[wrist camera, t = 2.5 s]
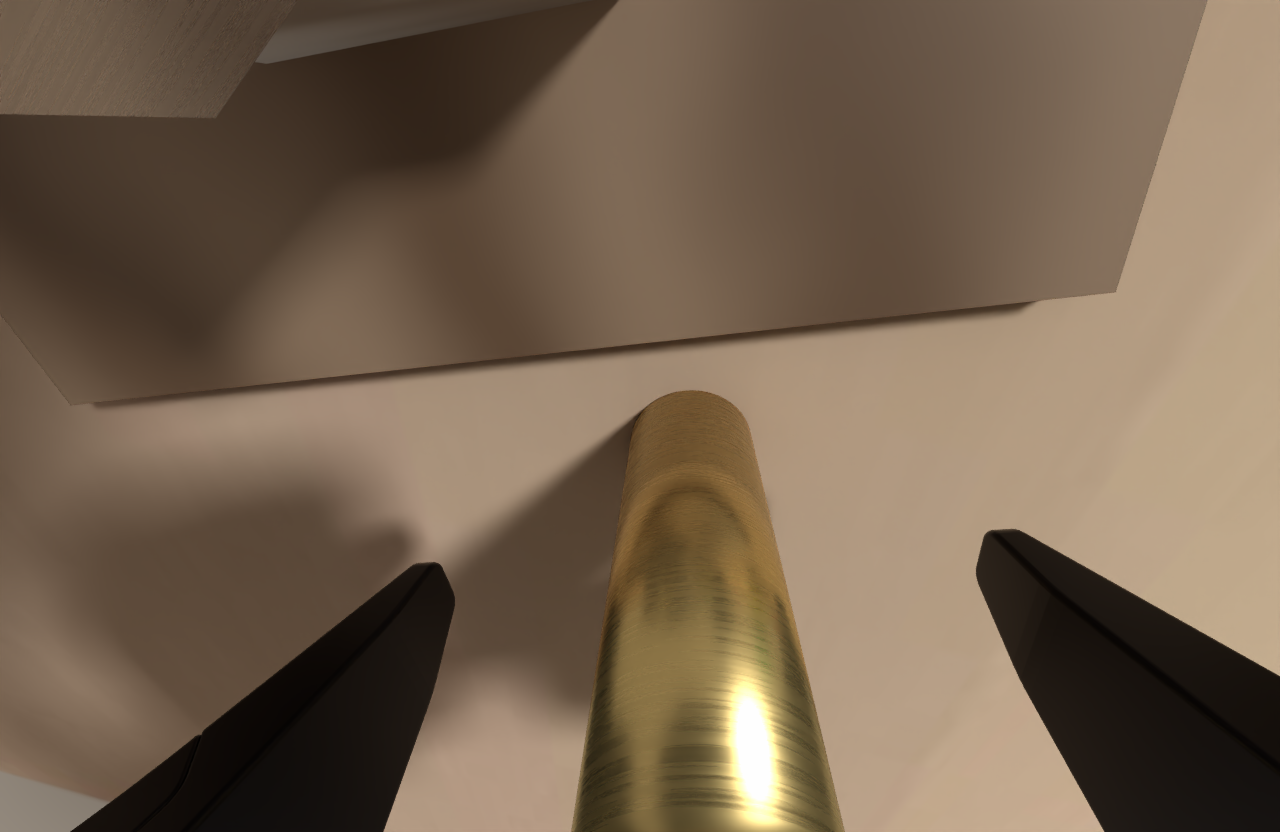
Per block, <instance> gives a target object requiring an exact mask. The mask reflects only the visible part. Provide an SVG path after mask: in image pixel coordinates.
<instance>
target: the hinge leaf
mask: <svg viewBox="0 0 1280 832" xmlns="http://www.w3.org/2000/svg"><path fill="white" fill-rule="evenodd" d="M296 2H297V0H0V114H25V115H79V116H134V117H189V118H216V117H217V115H218V114H219V113H220V111H221V110H222V108H223V107H224V105H225V104H226V102H227V101H228V100H229V98H230V97H231V95H232V94H233V92H234V91H235V90H236V88H237V87H238V85H239V84H240V82H241V81H242V79H243V78H244V77H245V75H246V74H247V72H248V71H249V69H250V68H251V67H252V65H253V64H254V62H255V61H256V59H257V58H258V57H259V55H260V54H261V52H262V51H263V49H264V48H265V46H266V45H267V44H268V42H269V41H270V39H271V38H272V36H273V35H274V34H275V32H276V31H277V29H278V28H279V26H280V25H281V23H282V22H283V21H284V19H285V18H286V16H287V15H288V13H289V12H290V11H291V9H292V8H293V6H294V5H295V3H296Z"/></svg>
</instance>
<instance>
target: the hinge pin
mask: <svg viewBox="0 0 1280 832" xmlns="http://www.w3.org/2000/svg"><path fill="white" fill-rule="evenodd" d="M571 832H845V831H844V827H843V823H842V818H841V814H840V810H839V806H838V801H837V797H836V793H835V789H834V784H833V780H832V776H831V772H830V767H829V763H828V759H827V755H826V751H825V746H824V742H823V738H822V734H821V729H820V725H819V721H818V717H817V712H816V708H815V704H814V700H813V695H812V691H811V687H810V683H809V679H808V674H807V670H806V666H805V662H804V657H803V653H802V649H801V645H800V640H799V636H798V632H797V628H796V623H795V619H794V615H793V611H792V607H791V602H790V598H789V594H788V590H787V585H786V581H785V577H784V573H783V568H782V564H781V560H780V556H779V551H778V547H777V543H776V539H775V535H774V530H773V526H772V522H771V518H770V513H769V509H768V505H767V501H766V496H765V492H764V488H763V484H762V480H761V475H760V471H759V467H758V463H757V458H756V454H755V450H754V446H753V441H752V437H751V433H750V429H749V426H748V424H747V421H746V419H745V418H744V416H743V415H742V413H741V412H740V411H739V410H738V409H737V408H736V407H735V406H734V405H733V404H732V403H730V402H729V401H727V400H726V399H724V398H722V397H720V396H718V395H715V394H712V393H708V392H703V391H694V390H691V391H680V392H675V393H671V394H668V395H666V396H663V397H661V398H659V399H657V400H656V401H654V402H653V403H651V404H650V405H649V406H648V407H647V408H646V409H644V410H643V412H642V413H641V414H640V416H639V417H638V419H637V420H636V422H635V425H634V427H633V430H632V435H631V442H630V448H629V455H628V461H627V468H626V474H625V481H624V488H623V494H622V501H621V507H620V514H619V521H618V527H617V534H616V540H615V547H614V553H613V560H612V567H611V573H610V580H609V586H608V593H607V600H606V606H605V613H604V619H603V626H602V633H601V639H600V646H599V652H598V659H597V665H596V672H595V679H594V685H593V692H592V698H591V705H590V712H589V718H588V725H587V731H586V738H585V744H584V751H583V758H582V764H581V771H580V777H579V784H578V791H577V797H576V804H575V810H574V817H573V824H572V830H571Z"/></svg>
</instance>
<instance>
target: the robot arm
mask: <svg viewBox="0 0 1280 832" xmlns="http://www.w3.org/2000/svg"><path fill="white" fill-rule="evenodd" d="M976 577H977V581H978V584H979V587H980V589H981V591H982V594H983V596H984V598H985V601H986V603H987V605H988V608H989V610H990V612H991V615H992V617H993V619H994V622H995V624H996V626H997V628H998V631H999V633H1000V635H1001V638H1002V640H1003V642H1004V645H1005V647H1006V649H1007V652H1008V654H1009V656H1010V659H1011V661H1012V663H1013V666H1014V668H1015V670H1016V672H1017V674H1018V676H1019V679H1020V681H1021V682H1022V684H1023V686H1024V688H1025V690H1026V692H1027V694H1028V696H1029V698H1030V699H1031V701H1032V703H1033V705H1034V706H1035V708H1036V710H1037V712H1038V714H1039V715H1040V717H1041V719H1042V721H1043V723H1044V724H1045V726H1046V728H1047V730H1048V732H1049V733H1050V735H1051V737H1052V739H1053V741H1054V742H1055V744H1056V746H1057V748H1058V749H1059V751H1060V753H1061V755H1062V757H1063V758H1064V760H1065V762H1066V764H1067V766H1068V767H1069V769H1070V771H1071V773H1072V775H1073V776H1074V778H1075V780H1076V782H1077V784H1078V785H1079V787H1080V789H1081V791H1082V792H1083V794H1084V796H1085V798H1086V800H1087V801H1088V803H1089V805H1090V807H1091V809H1092V810H1093V812H1094V814H1095V816H1096V818H1097V819H1098V821H1099V823H1100V825H1101V827H1102V828H1103V830H1104V832H1280V676H1279V675H1277V674H1275V673H1273V672H1272V671H1270V670H1268V669H1266V668H1264V667H1263V666H1261V665H1259V664H1257V663H1255V662H1254V661H1252V660H1250V659H1248V658H1247V657H1245V656H1243V655H1241V654H1239V653H1238V652H1236V651H1234V650H1232V649H1231V648H1229V647H1227V646H1225V645H1223V644H1222V643H1220V642H1218V641H1216V640H1215V639H1213V638H1211V637H1209V636H1207V635H1206V634H1204V633H1202V632H1200V631H1199V630H1197V629H1195V628H1193V627H1191V626H1190V625H1188V624H1186V623H1184V622H1183V621H1181V620H1179V619H1177V618H1175V617H1174V616H1172V615H1170V614H1168V613H1166V612H1165V611H1163V610H1161V609H1159V608H1158V607H1156V606H1154V605H1152V604H1150V603H1149V602H1147V601H1145V600H1143V599H1142V598H1140V597H1138V596H1136V595H1134V594H1133V593H1131V592H1129V591H1127V590H1126V589H1124V588H1122V587H1120V586H1118V585H1117V584H1115V583H1113V582H1111V581H1109V580H1108V579H1106V578H1104V577H1102V576H1101V575H1099V574H1097V573H1095V572H1093V571H1092V570H1090V569H1088V568H1086V567H1085V566H1083V565H1081V564H1079V563H1077V562H1076V561H1074V560H1072V559H1070V558H1069V557H1067V556H1065V555H1063V554H1061V553H1060V552H1058V551H1056V550H1054V549H1053V548H1051V547H1049V546H1047V545H1045V544H1044V543H1042V542H1040V541H1038V540H1036V539H1035V538H1033V537H1031V536H1029V535H1028V534H1026V533H1024V532H1022V531H1020V530H1017V529H1003V530H991V531H988V532H987V533H986V534H985V535H984V538H983V542H982V546H981V550H980V554H979V558H978V562H977V566H976ZM454 607H455V596H454V592H453V590H452V588H451V586H450V584H449V581H448V579H447V577H446V575H445V572H444V570H443V568H442V566H441V565H440V564H439V563H436V562H426V563H417V564H414V565H412V566H411V567H409V568H408V569H407V570H406V571H404V572H403V573H402V574H401V575H399V576H398V577H397V578H396V579H394V580H393V581H392V582H390V583H389V584H388V585H387V586H385V587H384V588H383V589H382V590H380V591H379V592H378V593H377V594H375V595H374V596H373V597H371V598H370V599H369V600H368V601H366V602H365V603H364V604H363V605H361V606H360V607H359V608H358V609H356V610H355V611H354V612H353V613H351V614H350V615H349V616H347V617H346V618H345V619H344V620H342V621H341V622H340V623H339V624H337V625H336V626H335V627H334V628H332V629H331V630H330V631H329V632H327V633H326V634H325V635H323V636H322V637H321V638H320V639H318V640H317V641H316V642H315V643H313V644H312V645H311V646H310V647H308V648H307V649H306V650H304V651H303V652H302V653H301V654H299V655H298V656H297V657H296V658H294V659H293V660H292V661H291V662H289V663H288V664H287V665H285V666H284V667H283V668H282V669H280V670H279V671H278V672H277V673H275V674H274V675H273V676H272V677H270V678H269V679H268V680H267V681H265V682H264V683H263V684H261V685H260V686H259V687H258V688H256V689H255V690H254V691H253V692H251V693H250V694H249V695H248V696H246V697H245V698H244V699H242V700H241V701H240V702H239V703H237V704H236V705H235V706H234V707H232V708H231V709H230V710H229V711H227V712H226V713H225V714H223V715H222V716H221V717H220V718H218V719H217V720H216V721H215V722H213V723H212V724H211V725H210V726H208V727H207V728H206V729H205V730H204V731H203V732H202V735H197V736H195V737H194V738H193V739H192V740H190V741H189V742H188V743H187V744H185V745H184V746H183V747H182V748H180V749H179V750H178V751H177V752H175V753H174V754H173V755H172V756H170V757H169V758H168V759H166V760H165V761H164V762H162V763H161V764H160V765H159V766H157V767H156V768H155V769H153V770H152V771H151V772H150V773H148V774H147V775H146V776H144V777H143V778H142V779H140V780H139V781H138V782H137V783H135V784H134V785H133V786H131V787H130V788H129V789H127V790H126V791H125V792H124V793H122V794H121V795H120V796H118V797H117V798H115V799H114V800H113V801H111V802H110V803H109V804H107V805H106V806H105V807H103V808H102V809H101V810H99V811H98V812H97V813H95V814H94V815H92V816H91V817H90V818H88V819H87V820H86V821H84V822H83V823H82V824H80V825H79V826H77V827H76V828H75V829H73V830H72V831H71V832H384V829H385V826H386V823H387V820H388V818H389V815H390V812H391V809H392V806H393V804H394V801H395V798H396V795H397V792H398V790H399V787H400V784H401V781H402V778H403V776H404V773H405V770H406V767H407V764H408V762H409V759H410V756H411V753H412V750H413V748H414V745H415V742H416V739H417V736H418V734H419V731H420V728H421V725H422V722H423V720H424V717H425V714H426V711H427V708H428V705H429V702H430V699H431V696H432V693H433V690H434V686H435V683H436V679H437V675H438V671H439V667H440V663H441V659H442V655H443V651H444V647H445V643H446V639H447V635H448V631H449V627H450V623H451V619H452V615H453V611H454Z"/></svg>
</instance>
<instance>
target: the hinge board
mask: <svg viewBox="0 0 1280 832" xmlns="http://www.w3.org/2000/svg"><path fill="white" fill-rule="evenodd" d="M1206 3H1207V0H297V2H296V3H295V5H294V6H293V8H292V9H291V11H290V12H289V13H288V15H287V16H286V18H285V19H284V21H283V22H282V23H281V25H280V26H279V28H278V29H277V31H276V32H275V34H274V35H273V36H272V38H271V39H270V41H269V42H268V44H267V45H266V46H265V48H264V49H263V51H262V52H261V54H260V55H259V57H258V58H257V59H256V61H255V62H254V64H253V65H252V67H251V68H250V69H249V71H248V72H247V74H246V75H245V77H244V78H243V79H242V81H241V82H240V84H239V85H238V87H237V88H236V90H235V91H234V92H233V94H232V95H231V97H230V98H229V100H228V101H227V102H226V104H225V105H224V107H223V108H222V110H221V111H220V113H219V114H218V115H217V117H216V118H189V117H134V116H79V115H25V114H0V314H1V316H2V317H3V318H4V319H5V321H6V322H7V323H8V325H9V326H10V327H11V329H12V330H13V331H14V332H15V334H16V335H17V336H18V338H19V339H20V340H21V342H22V343H23V344H24V345H25V347H26V348H27V349H28V351H29V352H30V353H31V355H32V356H33V357H34V358H35V360H36V361H37V362H38V364H39V365H40V366H41V367H42V369H43V370H44V371H45V373H46V374H47V375H48V377H49V378H50V379H51V380H52V382H53V383H54V384H55V386H56V387H57V388H58V390H59V391H60V392H61V393H62V395H63V396H64V397H65V399H66V400H67V401H68V403H69V404H70V405H77V404H86V403H96V402H105V401H114V400H123V399H133V398H142V397H151V396H160V395H170V394H179V393H188V392H197V391H207V390H216V389H225V388H234V387H244V386H253V385H262V384H272V383H281V382H290V381H299V380H309V379H318V378H327V377H336V376H346V375H355V374H364V373H373V372H383V371H392V370H401V369H410V368H420V367H429V366H438V365H447V364H457V363H466V362H475V361H484V360H494V359H503V358H512V357H521V356H531V355H540V354H549V353H558V352H568V351H577V350H586V349H595V348H605V347H614V346H623V345H632V344H642V343H651V342H660V341H669V340H679V339H688V338H697V337H706V336H716V335H725V334H734V333H744V332H753V331H762V330H771V329H781V328H790V327H799V326H808V325H818V324H827V323H836V322H845V321H855V320H864V319H873V318H882V317H892V316H901V315H910V314H919V313H929V312H938V311H947V310H956V309H966V308H975V307H984V306H993V305H1003V304H1012V303H1021V302H1030V301H1040V300H1049V299H1058V298H1067V297H1077V296H1086V295H1095V294H1104V293H1114V292H1116V289H1117V286H1118V283H1119V280H1120V277H1121V273H1122V270H1123V267H1124V264H1125V261H1126V258H1127V254H1128V251H1129V248H1130V245H1131V242H1132V239H1133V235H1134V232H1135V229H1136V226H1137V223H1138V219H1139V216H1140V213H1141V210H1142V207H1143V204H1144V200H1145V197H1146V194H1147V191H1148V188H1149V185H1150V181H1151V178H1152V175H1153V172H1154V169H1155V165H1156V162H1157V159H1158V156H1159V153H1160V150H1161V146H1162V143H1163V140H1164V137H1165V134H1166V131H1167V127H1168V124H1169V121H1170V118H1171V115H1172V111H1173V108H1174V105H1175V102H1176V99H1177V96H1178V92H1179V89H1180V86H1181V83H1182V80H1183V77H1184V73H1185V70H1186V67H1187V64H1188V61H1189V57H1190V54H1191V51H1192V48H1193V45H1194V42H1195V38H1196V35H1197V32H1198V29H1199V26H1200V23H1201V19H1202V16H1203V13H1204V10H1205V7H1206Z"/></svg>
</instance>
